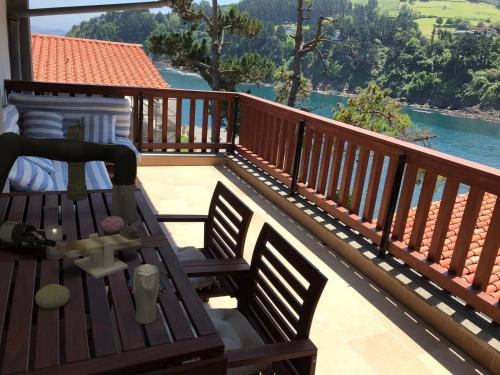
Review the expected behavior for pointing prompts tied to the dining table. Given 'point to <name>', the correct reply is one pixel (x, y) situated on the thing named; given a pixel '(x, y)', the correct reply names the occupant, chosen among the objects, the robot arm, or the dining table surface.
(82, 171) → the thermos
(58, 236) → the translucent grey cylinder
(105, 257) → the pivot stand
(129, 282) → the woven mat
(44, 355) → the dining table surface
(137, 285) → the beer glass
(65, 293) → the sea urchin shell
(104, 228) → the cupcake
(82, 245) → the balance beam
